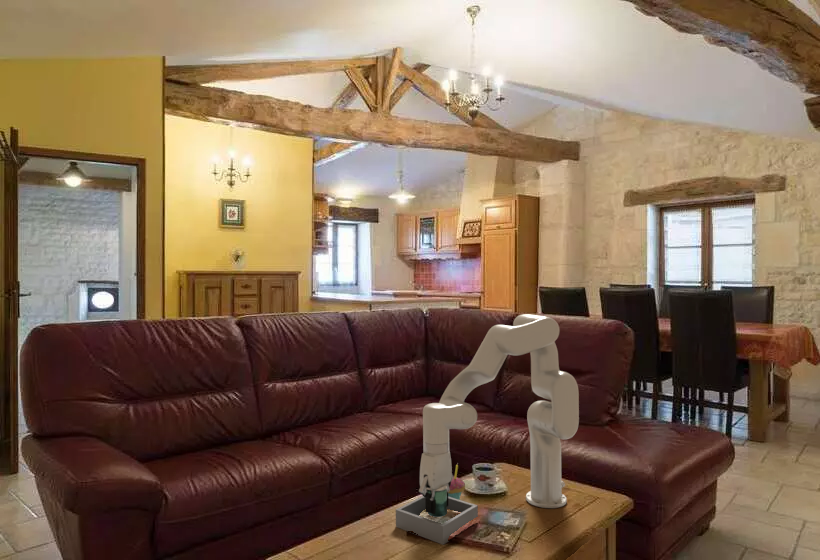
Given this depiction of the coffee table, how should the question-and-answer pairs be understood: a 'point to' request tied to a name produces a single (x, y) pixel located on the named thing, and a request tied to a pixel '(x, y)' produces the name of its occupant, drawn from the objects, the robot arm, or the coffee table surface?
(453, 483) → the cupcake
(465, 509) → the bin
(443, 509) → the tea tin
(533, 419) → the robot arm
